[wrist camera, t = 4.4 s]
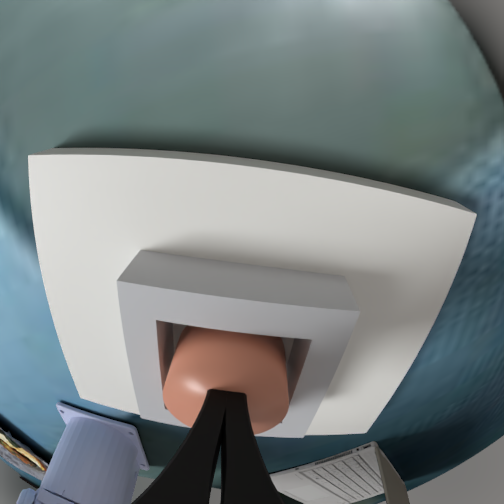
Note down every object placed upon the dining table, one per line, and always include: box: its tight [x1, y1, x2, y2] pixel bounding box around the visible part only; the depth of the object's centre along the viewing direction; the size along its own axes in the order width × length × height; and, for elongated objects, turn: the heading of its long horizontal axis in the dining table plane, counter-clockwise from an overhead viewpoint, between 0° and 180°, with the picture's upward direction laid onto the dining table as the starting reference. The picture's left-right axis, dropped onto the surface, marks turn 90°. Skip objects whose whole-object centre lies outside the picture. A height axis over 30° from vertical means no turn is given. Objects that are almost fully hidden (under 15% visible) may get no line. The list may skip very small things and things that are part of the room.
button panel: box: [28, 148, 477, 438], centre depth 14 cm, size 16×20×4 cm
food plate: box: [0, 427, 49, 481], centre depth 29 cm, size 25×23×4 cm
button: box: [163, 325, 289, 435], centre depth 12 cm, size 5×5×3 cm
